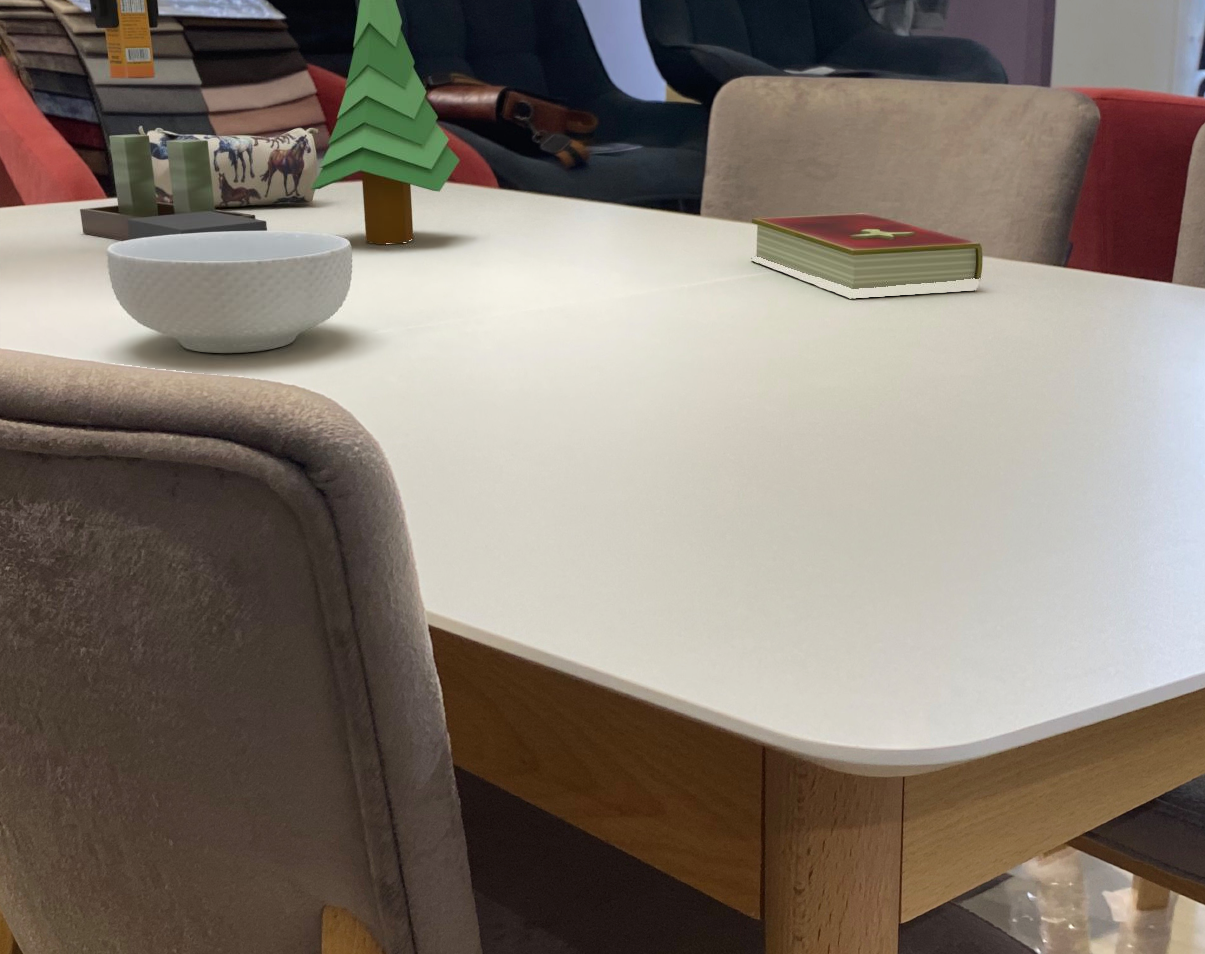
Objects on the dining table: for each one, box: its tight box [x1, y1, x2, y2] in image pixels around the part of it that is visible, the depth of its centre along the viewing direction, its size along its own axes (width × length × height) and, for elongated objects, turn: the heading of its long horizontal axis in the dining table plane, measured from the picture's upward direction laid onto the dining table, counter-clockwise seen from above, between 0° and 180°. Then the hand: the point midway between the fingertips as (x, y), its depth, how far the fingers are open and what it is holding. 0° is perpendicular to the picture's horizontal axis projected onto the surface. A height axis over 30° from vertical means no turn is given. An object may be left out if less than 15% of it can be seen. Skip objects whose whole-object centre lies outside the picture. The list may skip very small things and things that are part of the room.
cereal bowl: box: [106, 230, 353, 354], centre depth 102 cm, size 17×17×7 cm
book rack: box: [79, 133, 256, 241], centre depth 153 cm, size 9×19×10 cm, turn 48°
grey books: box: [127, 211, 268, 240], centre depth 127 cm, size 10×11×5 cm
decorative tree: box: [310, 0, 461, 245], centre depth 145 cm, size 14×16×30 cm
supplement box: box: [104, 0, 156, 80], centre depth 135 cm, size 3×3×10 cm
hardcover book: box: [751, 212, 984, 289], centre depth 128 cm, size 12×21×4 cm, turn 17°
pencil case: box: [138, 125, 319, 209], centre depth 177 cm, size 22×8×10 cm, turn 106°
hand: (126, 25), depth 136 cm, fingers closed on supplement box, 3 cm apart
